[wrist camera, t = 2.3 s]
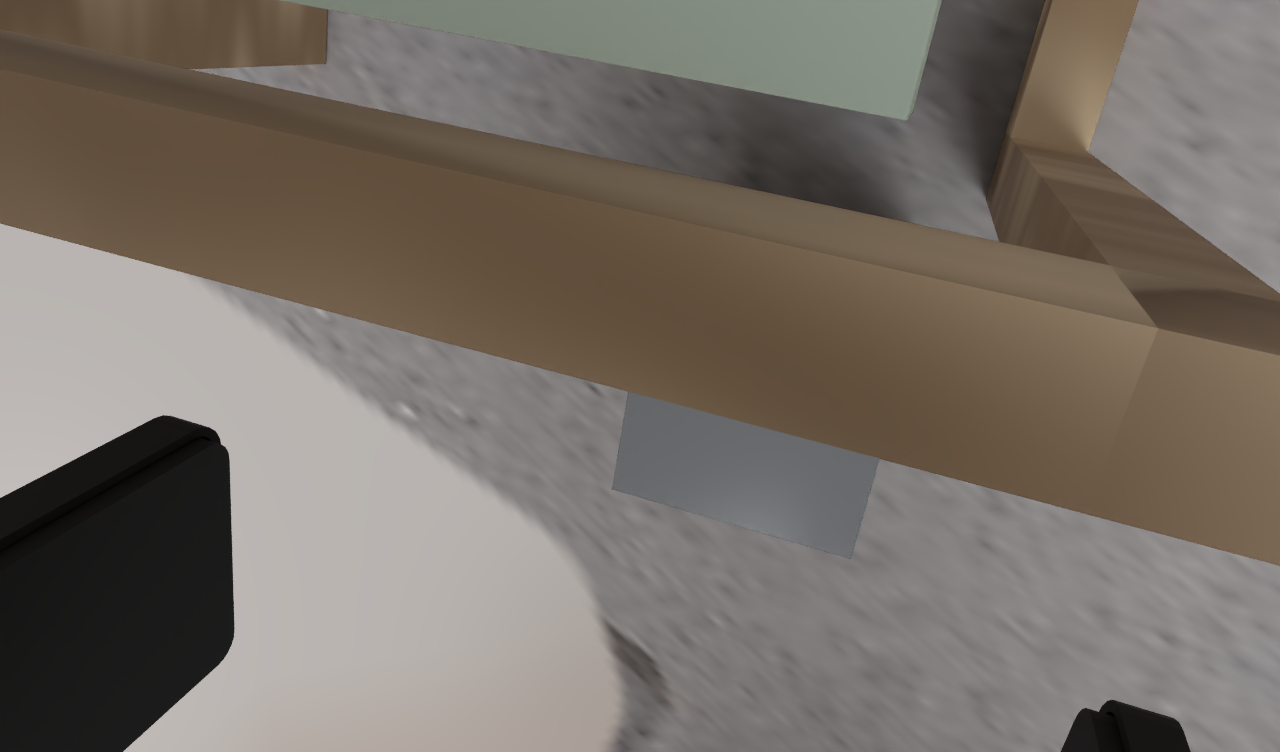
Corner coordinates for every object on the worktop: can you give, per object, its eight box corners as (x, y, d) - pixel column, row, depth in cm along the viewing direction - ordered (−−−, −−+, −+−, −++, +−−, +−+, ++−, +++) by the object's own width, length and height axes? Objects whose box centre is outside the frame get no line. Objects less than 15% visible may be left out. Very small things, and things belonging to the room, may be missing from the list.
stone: (869, 440, 24) (850, 558, 18) (682, 391, 25) (612, 489, 19) (923, 251, 22) (919, 321, 16) (717, 207, 23) (650, 258, 18)
